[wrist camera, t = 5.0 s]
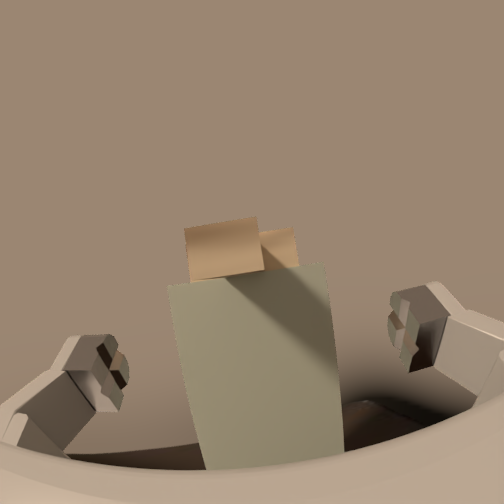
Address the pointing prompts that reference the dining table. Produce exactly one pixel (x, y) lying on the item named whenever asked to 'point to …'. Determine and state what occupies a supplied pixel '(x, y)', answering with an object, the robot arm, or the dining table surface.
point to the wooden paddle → (237, 249)
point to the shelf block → (260, 366)
